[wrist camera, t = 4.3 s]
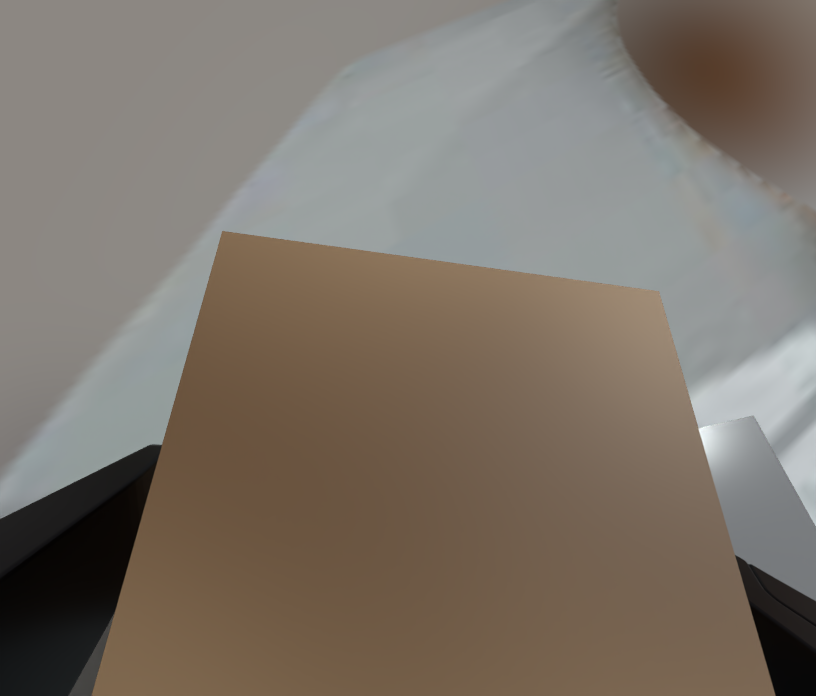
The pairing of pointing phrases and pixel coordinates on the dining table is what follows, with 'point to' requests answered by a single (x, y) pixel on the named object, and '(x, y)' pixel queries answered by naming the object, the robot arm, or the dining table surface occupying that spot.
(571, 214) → the dining table surface
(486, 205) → the dining table surface
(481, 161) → the dining table surface
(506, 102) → the dining table surface
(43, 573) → the robot arm
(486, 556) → the walnut pillar
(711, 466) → the base plate
